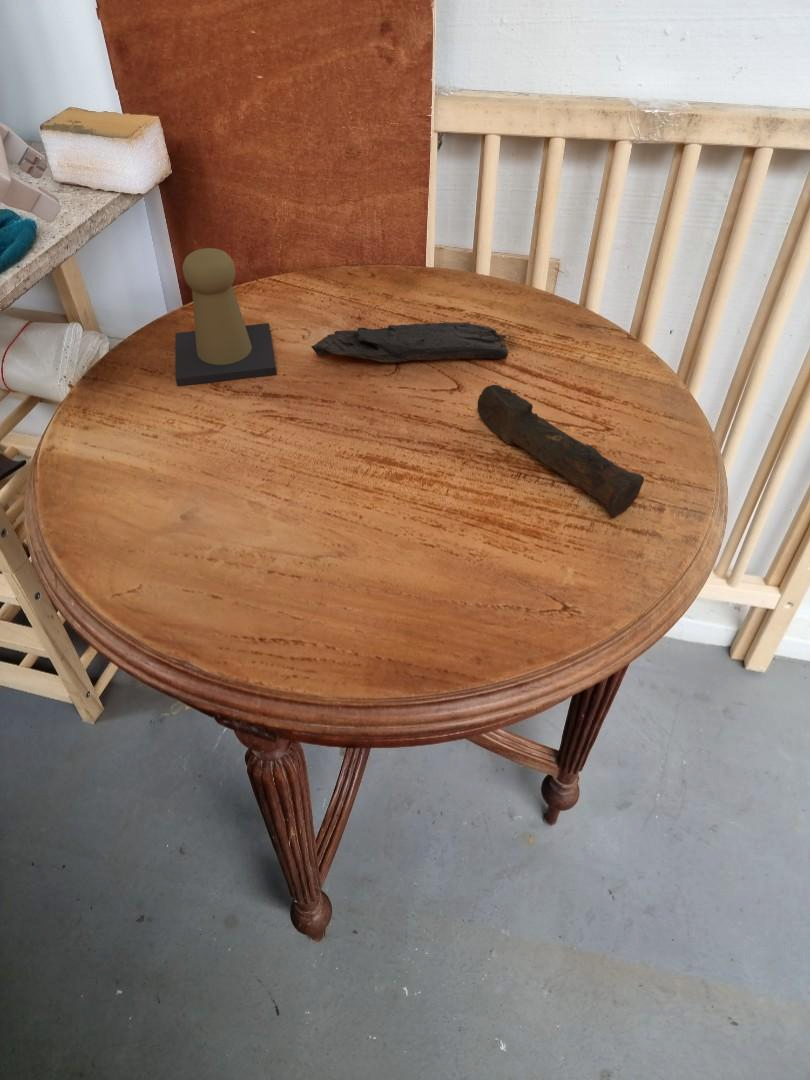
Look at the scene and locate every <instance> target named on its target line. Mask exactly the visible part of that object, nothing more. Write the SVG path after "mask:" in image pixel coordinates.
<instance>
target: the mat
mask: <svg viewBox="0 0 810 1080" xmlns="http://www.w3.org/2000/svg"><path fill="white" fill-rule="evenodd" d="M245 327H246V330H247V333H248V336H249V339H250V342H251V345H252V349H251V352H250V353H249V354H248V356H247V357H245V358H244V359H242V360H240V361H238V362H235V363H231V364H225V365H215V364H210V363H206V362H204V361H202V360H201V359H200V358H199V357H198V355H197V350H196V336H195V330H190V331H189V330H188V331H181V332H175V334H174V336H175V337H174V338H175V339H174V340H175V343H174V345H175V348H174V349H175V351H174V352H175V358H174V359H175V360H174V361H175V382H176V387H181V386H184V387H185V386H189V385H190V386H192V385H200V384H209V383H217V382H226V381H234V380H235V381H236V380H244V379H253V378H261V377H269V376H276V375H278V373H277V372H278V371H277V365H276V358H275V352H274V347H273V345H274V344H273V340H272V333H271V327H270V323H269V322H266V323H256V324H247V325H246V324H245Z"/></svg>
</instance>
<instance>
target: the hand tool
mask: <svg viewBox="0 0 810 1080" xmlns="http://www.w3.org/2000/svg"><path fill="white" fill-rule="evenodd" d="M533 408H534V407H533V404H532V403H531V402H530V401H528V400H527V399H525V398H523V397H521V396H519V395H518V394H517V392H512V390H511V389H509V388H506V387H505V388H504V387H502V385H498V384H492V385H488V386H485V387H484V388H483V389H482V391H481V393H480V394H479V396H478V399H477V410H476V411H477V414H478V416H479V418H480V419H481V420H482V421H483V422H484V423H485V425H486V426H487V427H488V428H489V429H490V430H491V431H492V432H494V433H495V434H496V435H497V436H498V437H499V438H500V439H501V440H502V441H503V442H504V443H505V444H506V445H507V446H508V445H509V446H514V445H517V446H518V447H520V448H522V449H524V450H525V451H526V452H527V453H529V454H530V455H531V456H533V457H534V458H536V459H537V460H538V461H540V463H541V464H544V465H546V466H548V467H549V468H551V469H552V470H554V471H555V472H557V473H558V474H559V475H561V476H563V477H564V478H565V479H566V480H567V481H569V482H570V483H571V484H573V485H574V486H575V487H577V488H579V489H580V490H583V491H584V492H585V493H586V494H588V495H590V496H591V497H593V498H595V499H596V500H597V501H599V502H601V503H602V504H603V505H605V507H606V508H607V509H608V513H609V514H608V515H609V516H610V517H611V518H613V519H614V518H617V516H619V515H620V514H623V513H624V512H625V511H627V510H628V509H629V508H630V507H631V506H632V504H634V502H635V500H636V499H637V498H638V496H639V494H640V492H641V489H642V486H643V485H644V480H645V477H644V476H643V475H642V474H639V473H636V472H633V471H632V472H631V471H629V470H626V469H623V468H621V467H620V466H618V465H617V464H615V463H614V462H613V461H611V460H609V459H608V458H606V457H604V456H603V455H602V454H601V453H600V452H599V451H598V449H596V448H595V447H594V446H593V445H591V444H590V445H589V444H584V443H583V442H581V441H580V440H577V439H576V438H574V437H572V436H571V435H569V434H568V433H566V432H564V431H563V430H561V429H560V428H558V427H556V426H555V425H553V424H552V423H550V422H549V421H547V420H546V419H544V418H543V417H541V416H539V415H538V414H537V413H536V412H533Z"/></svg>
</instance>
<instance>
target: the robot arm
mask: <svg viewBox="0 0 810 1080" xmlns="http://www.w3.org/2000/svg"><path fill="white" fill-rule="evenodd" d="M8 160H10V161H11V162H12V163H14V164H16V165H17V166H18V169H19V170H21V171H22V172H24V173H25V174H28V175H29V176H31V177H32V178H34V179H41V178H42V177H43V175H44V173H45V171H46V170H47V168H48V164H47V160H46V157H45V155H43V154H42V153H40V152H39V151H37V150H36V149H34V148H33V147H31V146H30V145H29V144H27V143H26V142H25V141H24V140H23V139H22V138H21V137H20V136H19V135H18V134H17V133H16V132H14V131H13V129H11V128H10V127H9V126H8V125H6V124H4V123H3V122H2V121H0V203H2V204H4V205H6V206H7V207H9V208H14V209H17V210H20V211H24V212H27V213H31V214H33V215H34V216H36V217H37V218H40V219H41V220H43V221H45V222H46V223H52V222H54V221H55V220H56V218H57V216H58V215H59V213H61V205H60V201H59V199H58V198H57V196H55V195H54V194H53V193H51V192H49V191H47V190H46V189H45V188H43V187H41V186H38V187H36V186H34V185H32V184H31V183H28V182H26V181H25V180H23V179H21V177H20V176H19V175H18V174H16V173H15V172H13V171H12V170H10V167H9V164H8Z"/></svg>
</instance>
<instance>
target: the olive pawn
mask: <svg viewBox="0 0 810 1080" xmlns="http://www.w3.org/2000/svg"><path fill="white" fill-rule="evenodd" d="M182 274H183V278H184V281H185V283H186V285H187V286H188V287H189V288H190V289H191V294H192V306H193V307H192V309H193V318H194V319H193V320H194V331H195V336H196V350H197V355H198V357H199V358H200V359H201V360H202V361H204V362H206V363H210V364H215V365H225V364H231V363H235V362H238V361H240V360H242V359H244V358H245V357H247V356H248V354H249V353H250V352H251V349H252V345H251V342H250V339H249V336H248V333H247V330H246V327H245V325H246V324H245V321H244V317H243V315H242V310H241V308H240V305H239V302H238V299H237V295H236V292H235V289H234V287H233V283H234V281H235V278H236V267H235V264H234V261H233V259H232V257H231V256H230V255H229V254H228V253H227V252H226V251H224V250H222V249H219V248H214V247H206V248H199V249H197V250H194V251H192V252H191V253H189V254H188V255H187V256H185V258H184V261H183V263H182Z"/></svg>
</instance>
